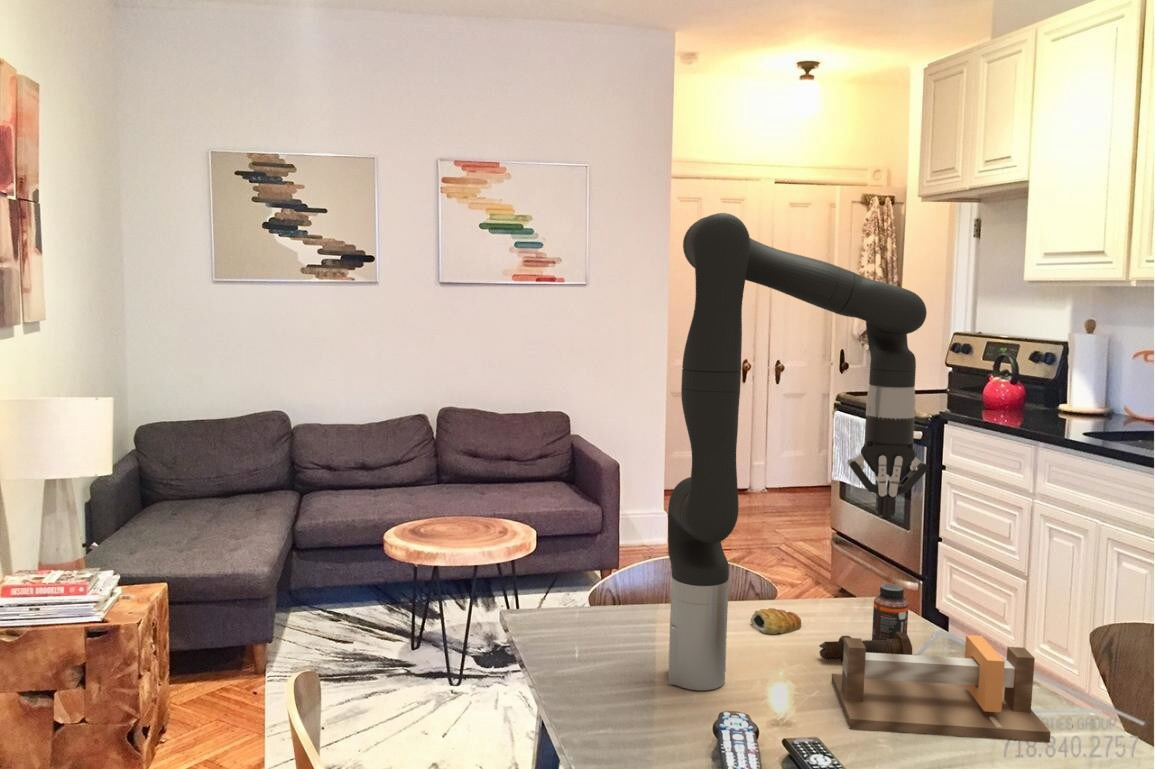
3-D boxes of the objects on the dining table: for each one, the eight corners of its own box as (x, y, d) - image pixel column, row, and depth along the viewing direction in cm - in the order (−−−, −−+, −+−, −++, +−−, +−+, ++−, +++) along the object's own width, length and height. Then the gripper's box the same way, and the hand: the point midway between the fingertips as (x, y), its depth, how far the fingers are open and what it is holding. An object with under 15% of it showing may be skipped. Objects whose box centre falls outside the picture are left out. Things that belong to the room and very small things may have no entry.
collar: (984, 711, 134) (987, 660, 134) (963, 682, 144) (966, 635, 143) (1001, 712, 134) (1004, 661, 133) (978, 683, 144) (981, 635, 143)
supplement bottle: (910, 654, 162) (914, 592, 161) (877, 653, 162) (880, 591, 161) (899, 641, 168) (903, 581, 167) (867, 640, 168) (870, 581, 167)
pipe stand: (849, 728, 134) (853, 663, 133) (831, 682, 150) (834, 623, 148) (1049, 741, 131) (1054, 674, 130) (1009, 693, 147) (1013, 633, 146)
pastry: (788, 619, 179) (789, 600, 178) (809, 632, 173) (810, 612, 172) (747, 625, 175) (748, 606, 175) (766, 638, 169) (767, 618, 169)
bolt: (819, 670, 159) (904, 667, 160) (827, 666, 155) (915, 664, 155) (815, 636, 162) (899, 633, 162) (822, 631, 157) (909, 629, 157)
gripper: (926, 411, 151) (920, 514, 153) (844, 409, 153) (839, 510, 154) (939, 417, 144) (932, 525, 146) (853, 415, 145) (847, 521, 147)
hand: (884, 517), depth 150 cm, fingers closed
